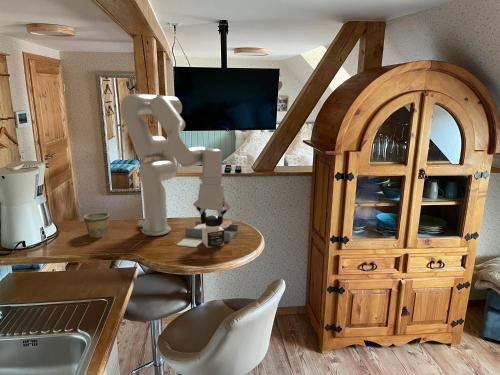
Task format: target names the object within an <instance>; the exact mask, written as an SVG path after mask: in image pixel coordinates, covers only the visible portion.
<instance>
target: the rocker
mask: <svg viewBox="0 0 500 375" xmlns="http://www.w3.org/2000/svg"><path fill="white" fill-rule="evenodd" d="M230 224H233V222H232V220H223V223H222V224H221V225H220V227H221V228H227V227H228V226H229V225H230ZM195 226H196V225H195ZM195 226H194V227H195ZM202 227H205V224H200V225H197V226H196V227H195V228H197V229H202Z"/></svg>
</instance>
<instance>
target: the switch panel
mask: <svg viewBox="0 0 500 375" xmlns="http://www.w3.org/2000/svg"><path fill="white" fill-rule="evenodd" d="M200 224H202V221H201V220H195V225H194V227H185V228H184V229H185V231H184V232H185V238H195V239H202V229H197V228H195V227H196V226H197V225H200ZM204 224H205V223H204ZM222 229H224V242H228V243H229V242H231V241H232V240H233V239H234V238H235V237H236V236H237V235H238V234H239V224H238V223H232V224H230V225H229V226H228V227H227V228H222ZM235 235H236V236H235Z"/></svg>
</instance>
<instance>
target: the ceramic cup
mask: <svg viewBox="0 0 500 375" xmlns="http://www.w3.org/2000/svg"><path fill="white" fill-rule="evenodd" d="M83 221H84V224H85V226H86V230H87V232H88V235H89V237H90V238H95V239H98V238H103V237H105V236H107V235H108V232H109V223H110V213H108V212H102V211H101V212H100V211H99V212H91V213H87V214H85V215H84V216H83Z"/></svg>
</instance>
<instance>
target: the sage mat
mask: <svg viewBox="0 0 500 375" xmlns="http://www.w3.org/2000/svg"><path fill="white" fill-rule="evenodd" d="M201 244H203V243H202V239H199V238H190V237H184V238H183V239H181V241H179V242H177V244H176V246H178V247H180V246H181V247H186V248H188V247H189V248H197V247H198V246H200V245H201Z"/></svg>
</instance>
